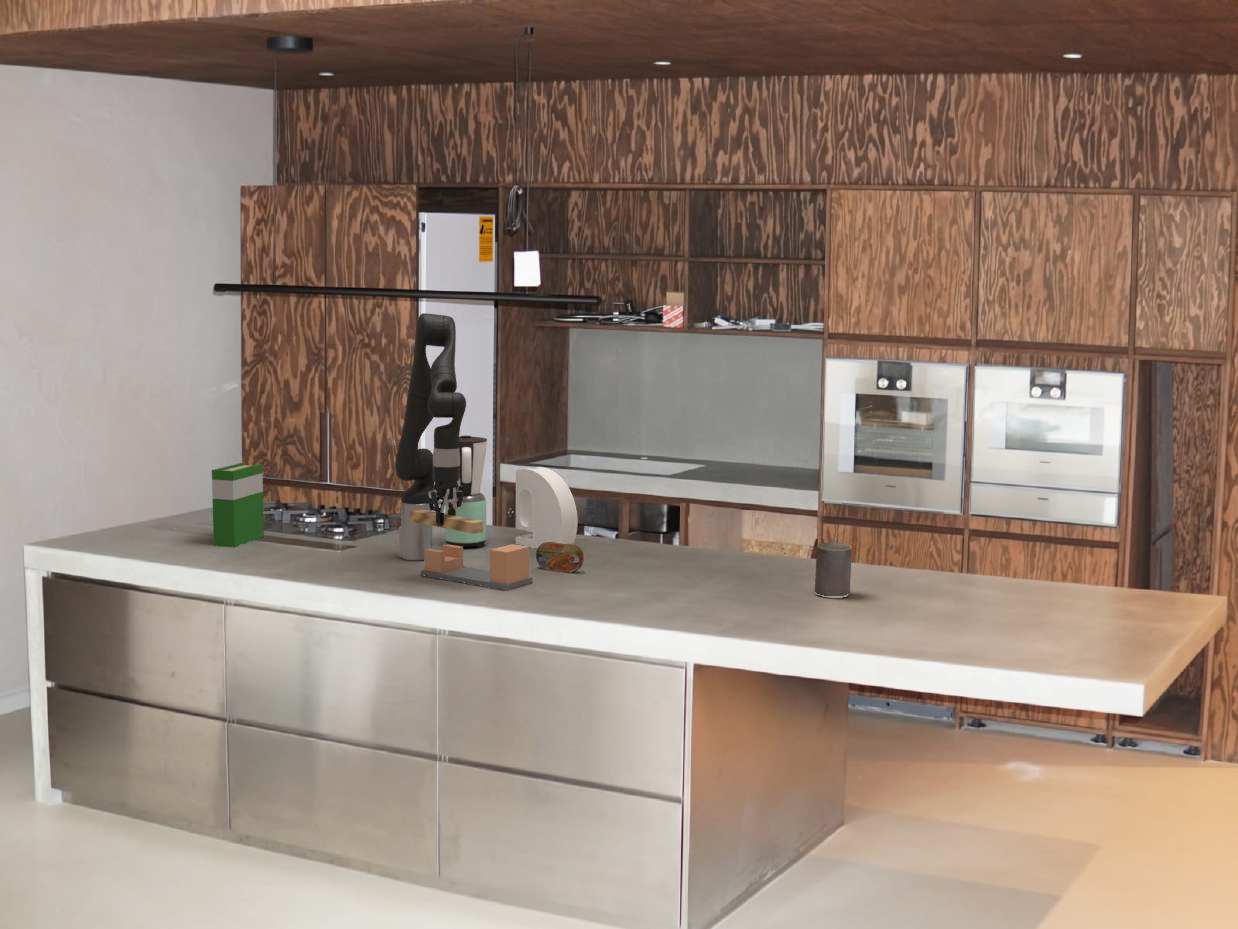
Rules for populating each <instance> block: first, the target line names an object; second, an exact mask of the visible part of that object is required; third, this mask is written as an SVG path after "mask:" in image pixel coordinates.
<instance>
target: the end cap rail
mask: <svg viewBox="0 0 1238 929" xmlns="http://www.w3.org/2000/svg"><path fill="white" fill-rule="evenodd" d="M423 562H424V568H423V569H422V570H420V576H421V575H425V576H428V577H427V578H431V577H432V578H433V579H436V578H442V579H445V580H444V581H448V580H451V581H450V582H453V581H455V582H454V583H459V582H465V583H469V584H468V585H470V584H473V586H476V585H482V586H486V587H485V588H488V587H490V588H489V589H493V588H494V589H495V590H499V589H502V590H501V591H505V590H507V591H510V590H513V588H514V589H516V587H517V588H520V587H522V586H521V585H524V586H526V584H527V585H529V584H528V583H531V582H532V583H533V577H531V576H530V548H529V547H528V546H521V545H516V543H514V544H513V543H511V544H508V545H507V544H506V545H504V546H499V547H495V548H492V549H489V569H482V568H476V567H470V566H464V547H462V546H455V545H449V544H447V543H446V544H443V545H442V550H439V549H434V548H432V549H425V550H424V560H423ZM425 576H424V577H425ZM442 579H441V580H442ZM465 583H464V584H465ZM532 583H531V584H532ZM482 586H481V587H482ZM519 586H520V587H519ZM509 589H510V590H509Z"/></svg>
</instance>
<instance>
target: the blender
mask: <svg viewBox="0 0 1238 929" xmlns="http://www.w3.org/2000/svg"><path fill="white" fill-rule="evenodd" d="M487 441H488V438H486V437H481V436H480V437H479V436H472V435H459V452H460V479H459V481H457V483H458V485H459V486H465V492H464V496H463V500H462V505H461V507H458V508H457V510H456V516H460V517H465V518H470V519H476V520H481V521H483V532H479V533H475V534H472V533H467V532H462V531H457V530H452V529H447V528H444V534H445V535H444V540H445V543H446V544H448V545H455V546H461V547H463V548H464V547H465V548H467V547H474V548H475V549H481V548H482V546H483V545H484V544H486V542H487V539H488V538H487V499H486V497H485V495H484V494H483V493H482V492H481V485H482V481H483V475H484V474H483V473H484V468H485V467H484V466H485V460H486V454H487V444H488V443H487ZM458 500H459V498H458V499H457V502H458ZM451 504H452V503H451ZM448 510H449V509H448V505H447V504H446V505H445V507H444V514H448Z"/></svg>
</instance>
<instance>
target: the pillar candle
mask: <svg viewBox="0 0 1238 929" xmlns="http://www.w3.org/2000/svg"><path fill="white" fill-rule="evenodd" d="M852 551H853V547H852V545H848V544H846V543H840V542H835V541H833V542H822V543H818V544H817V545H816V555H815V556H816V557H815V560H816V561H815V578H814V580H815V581H814V583H815V584H814V593H815V592H816V593H817V594H820V595H824V596H844V595H847V594H849V593H850V594H851V579H852V578H851V576H852V555H853V554H852V553H853V552H852Z"/></svg>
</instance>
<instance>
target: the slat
mask: <svg viewBox="0 0 1238 929" xmlns="http://www.w3.org/2000/svg"><path fill="white" fill-rule="evenodd" d="M410 521H411V522H416V523H421V524H426V525H431V526H432V527H436V528H437V527H438V528H440V529H441V528H442V529H445V528H447V529H452V530H457V531H462V532H467V533H472V534H475V533H479V532H483V521H481V520H476V519H470V518H465V517H460V516H454V515H449V514H445V513H444V525H443V526H439V525H437V523H436V512H435V511H428V510H422V509H417V510H412V511H410Z"/></svg>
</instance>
